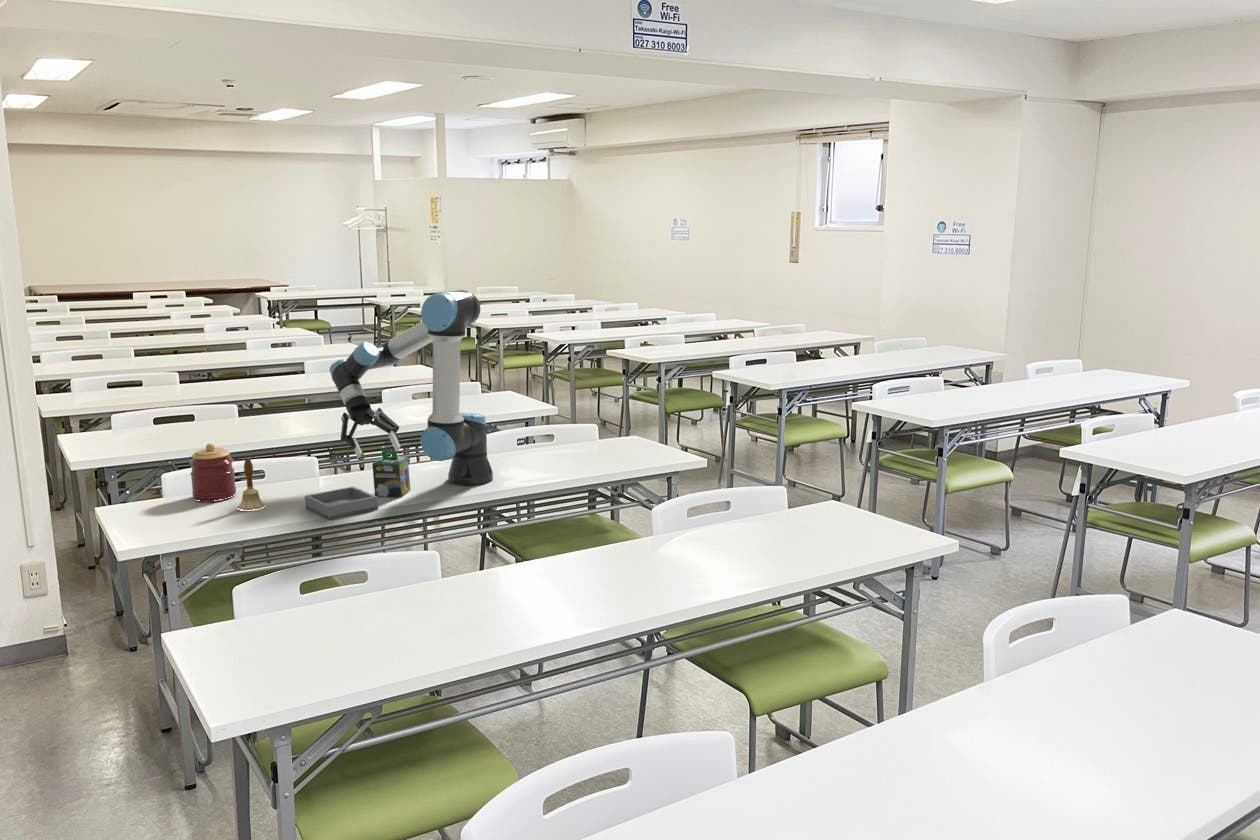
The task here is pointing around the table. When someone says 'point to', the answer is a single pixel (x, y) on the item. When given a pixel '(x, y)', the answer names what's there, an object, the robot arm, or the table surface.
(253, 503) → the hand bell
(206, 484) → the canister
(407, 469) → the chalk box
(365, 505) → the tray
